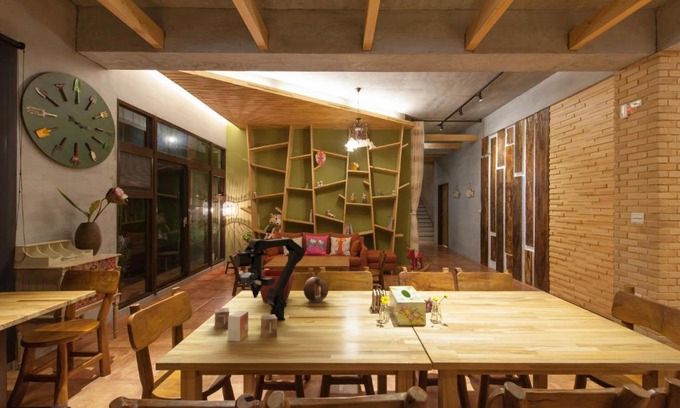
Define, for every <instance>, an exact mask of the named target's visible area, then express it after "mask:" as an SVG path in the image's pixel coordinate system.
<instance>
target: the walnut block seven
mask: <svg viewBox="0 0 680 408" xmlns="http://www.w3.org/2000/svg"><path fill="white" fill-rule="evenodd" d="M228 316H230V309H229V307H221V308H215V309H214V330H215V331H219V330H220V331H221V330H228Z"/></svg>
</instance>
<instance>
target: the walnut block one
mask: <svg viewBox="0 0 680 408" xmlns="http://www.w3.org/2000/svg"><path fill="white" fill-rule="evenodd" d="M260 319H261V320H260V334H261V337H262V339H269V338H277V337H278V321H277V317H276V316H275V314H272V315H270V314H265V315H264V314H263V315H261V316H260Z"/></svg>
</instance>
